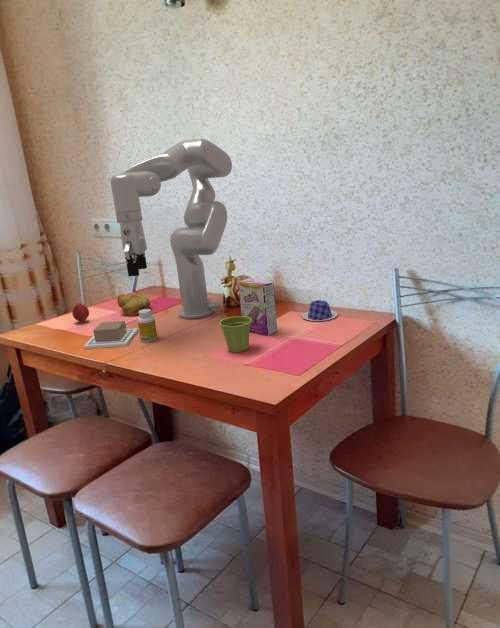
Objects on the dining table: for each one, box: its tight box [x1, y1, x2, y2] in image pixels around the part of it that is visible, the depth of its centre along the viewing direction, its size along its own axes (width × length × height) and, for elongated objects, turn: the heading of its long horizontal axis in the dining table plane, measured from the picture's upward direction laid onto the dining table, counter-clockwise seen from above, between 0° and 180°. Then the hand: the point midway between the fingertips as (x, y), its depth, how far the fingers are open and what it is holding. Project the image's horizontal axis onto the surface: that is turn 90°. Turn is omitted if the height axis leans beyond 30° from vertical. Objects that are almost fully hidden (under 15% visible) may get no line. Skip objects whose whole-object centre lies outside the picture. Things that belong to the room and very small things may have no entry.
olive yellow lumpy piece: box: [116, 292, 151, 316], centre depth 195 cm, size 13×10×8 cm
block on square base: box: [82, 320, 139, 350], centre depth 167 cm, size 14×14×5 cm
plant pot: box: [219, 315, 252, 353], centre depth 148 cm, size 9×9×9 cm
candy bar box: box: [237, 278, 278, 337], centre depth 160 cm, size 11×5×16 cm, turn 47°
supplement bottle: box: [137, 308, 158, 343], centre depth 163 cm, size 5×5×10 cm
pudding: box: [301, 299, 338, 322], centre depth 170 cm, size 12×12×5 cm
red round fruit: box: [72, 301, 90, 323], centre depth 188 cm, size 6×6×8 cm
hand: (138, 272), depth 158 cm, fingers open, 9 cm apart
